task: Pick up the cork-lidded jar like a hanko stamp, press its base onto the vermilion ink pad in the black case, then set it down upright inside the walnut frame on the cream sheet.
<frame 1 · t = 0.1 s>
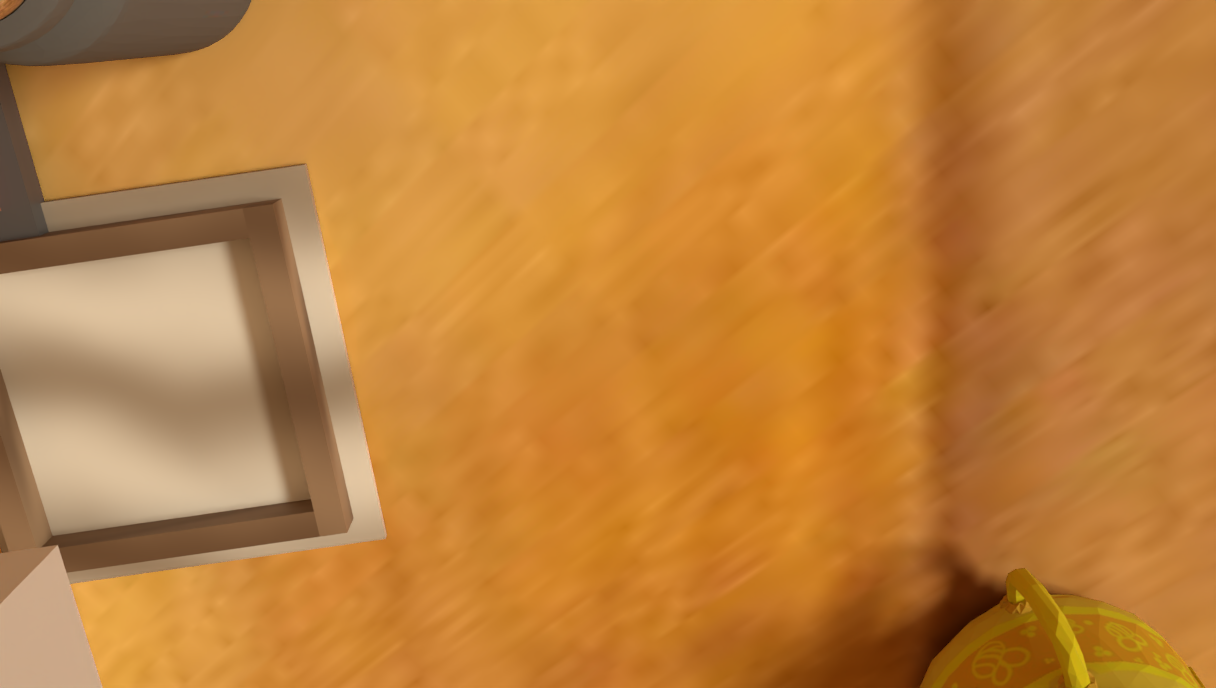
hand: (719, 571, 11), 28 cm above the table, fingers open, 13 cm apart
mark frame: (155, 386, 39), on the table
mug: (1026, 671, 44), on the table
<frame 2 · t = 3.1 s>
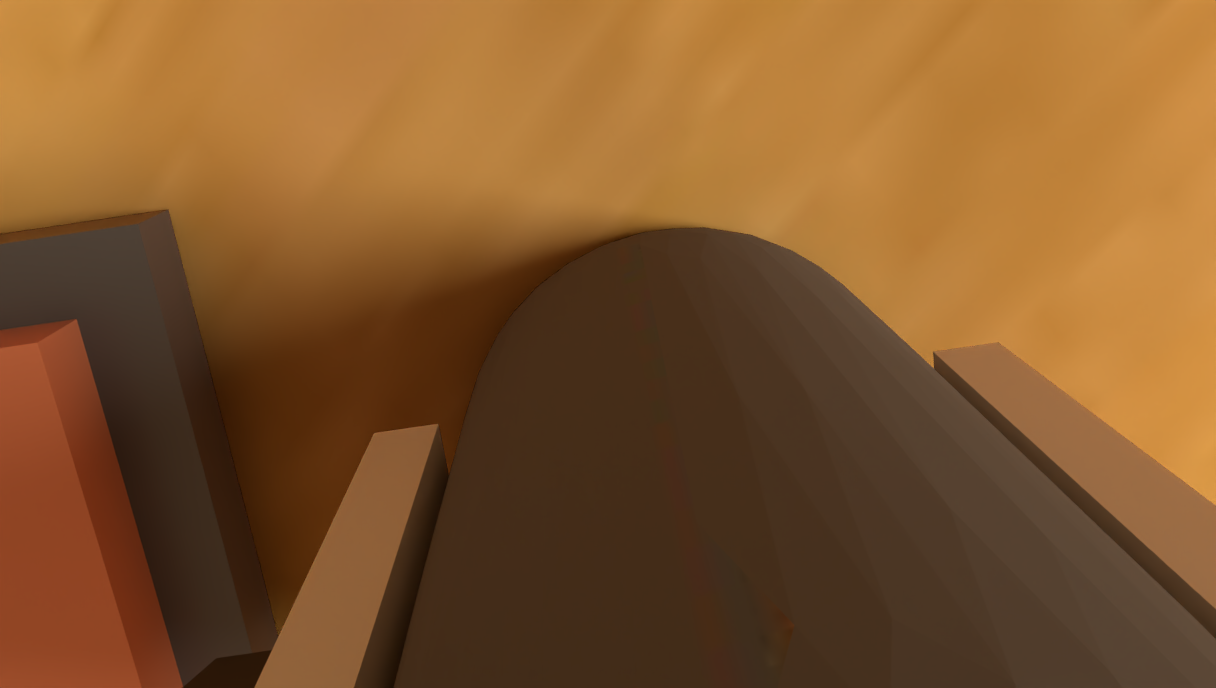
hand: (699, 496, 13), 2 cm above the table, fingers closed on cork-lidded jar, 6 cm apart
cork-lidded jar: (683, 432, 15), on the table, touching gripper
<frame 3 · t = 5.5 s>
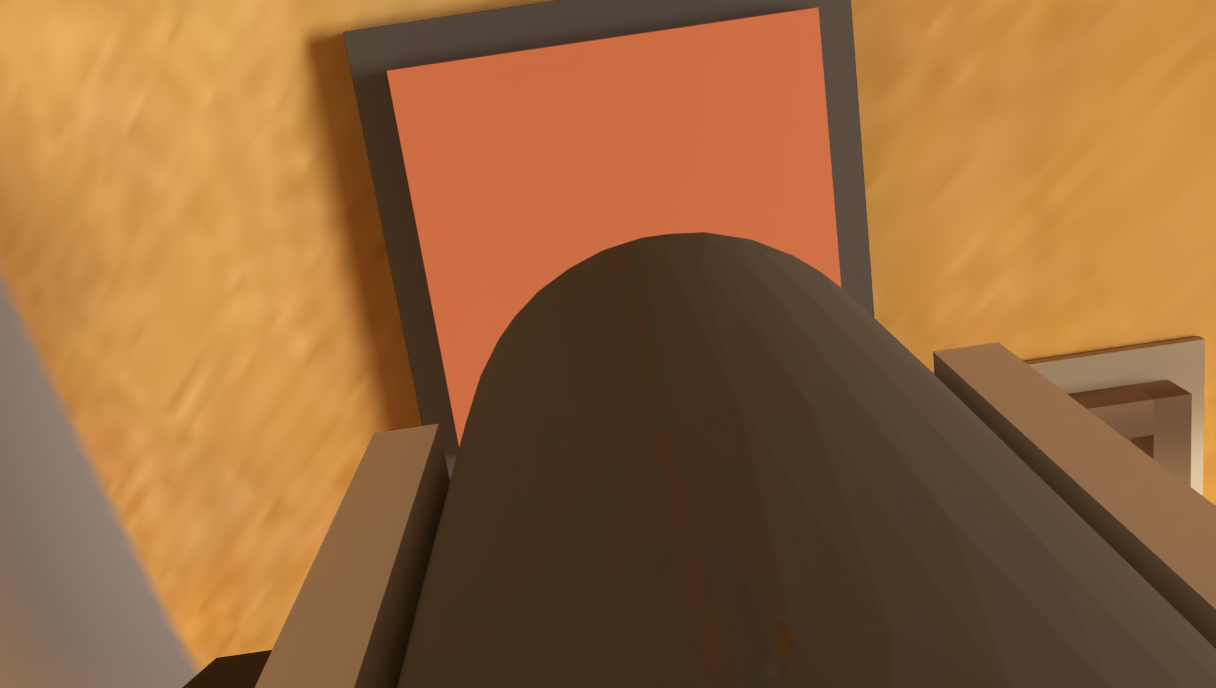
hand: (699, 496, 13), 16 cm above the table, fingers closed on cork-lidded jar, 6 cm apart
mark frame: (955, 600, 32), on the table
ink pad: (627, 235, 29), on the table
cork-lidded jar: (684, 436, 15), point 14 cm above the table, touching gripper
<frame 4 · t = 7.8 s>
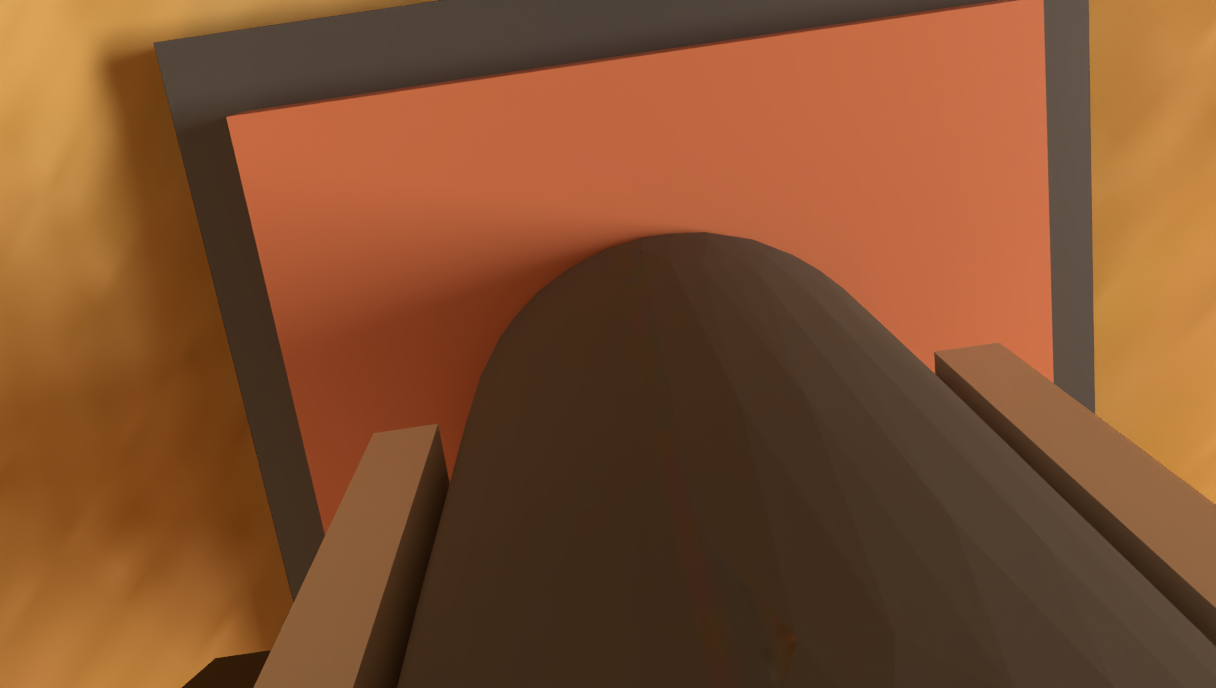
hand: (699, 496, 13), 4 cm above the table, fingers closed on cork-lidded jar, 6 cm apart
ink pad: (670, 390, 17), on the table
cork-lidded jar: (685, 436, 15), point 2 cm above the table, touching gripper, ink pad
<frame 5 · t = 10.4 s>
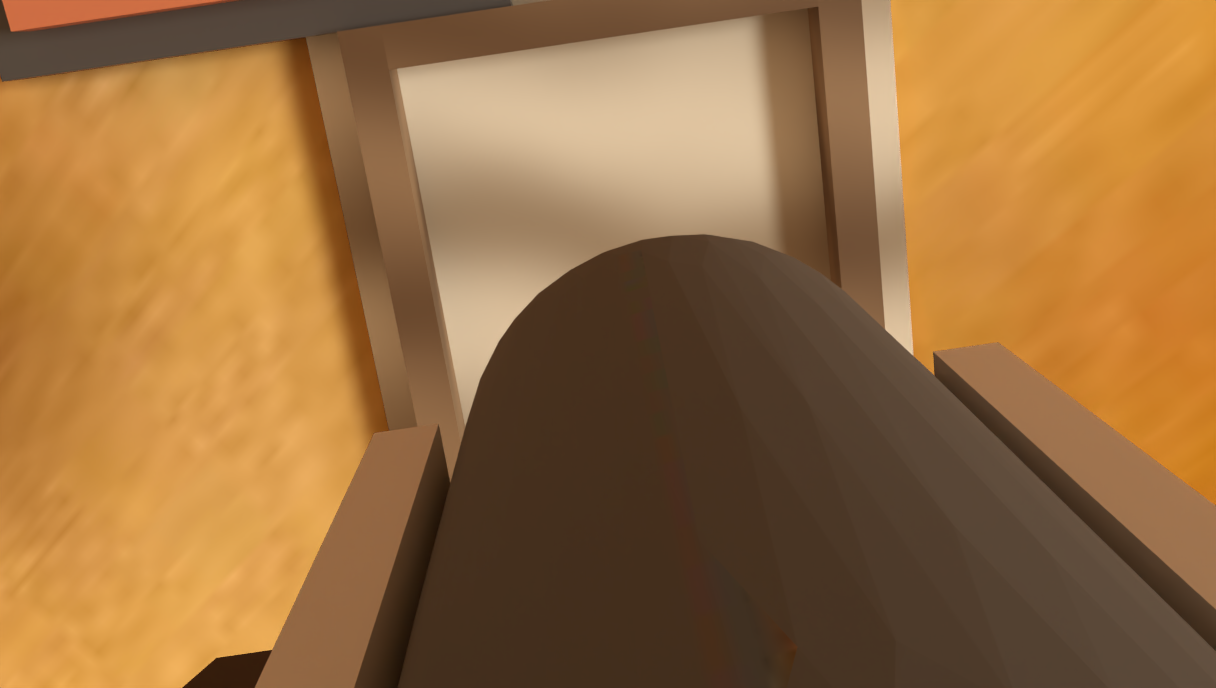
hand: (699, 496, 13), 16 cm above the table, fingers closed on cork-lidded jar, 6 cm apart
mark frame: (629, 237, 28), on the table
cork-lidded jar: (685, 438, 15), point 14 cm above the table, touching gripper
when the fingers open (4 cm above the table, at t = 12.8 s): cork-lidded jar drops 2 cm, resting on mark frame.
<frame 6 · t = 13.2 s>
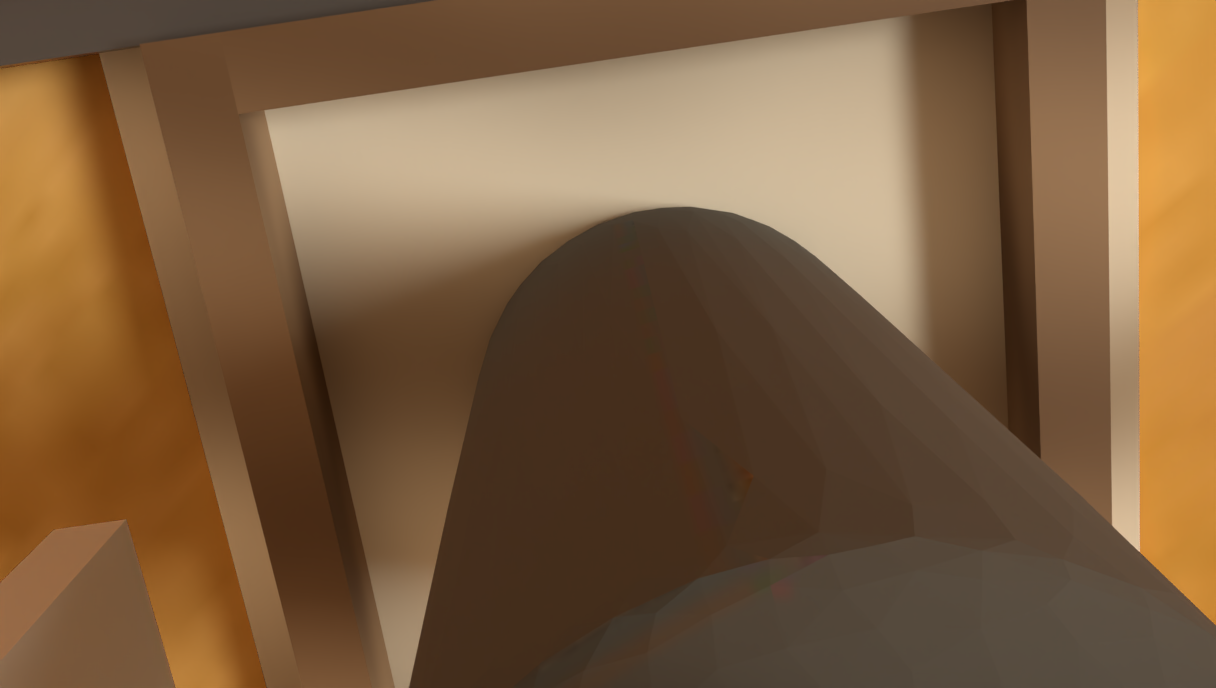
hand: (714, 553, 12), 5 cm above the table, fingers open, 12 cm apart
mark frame: (670, 390, 17), on the table
cork-lidded jar: (674, 393, 17), resting on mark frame
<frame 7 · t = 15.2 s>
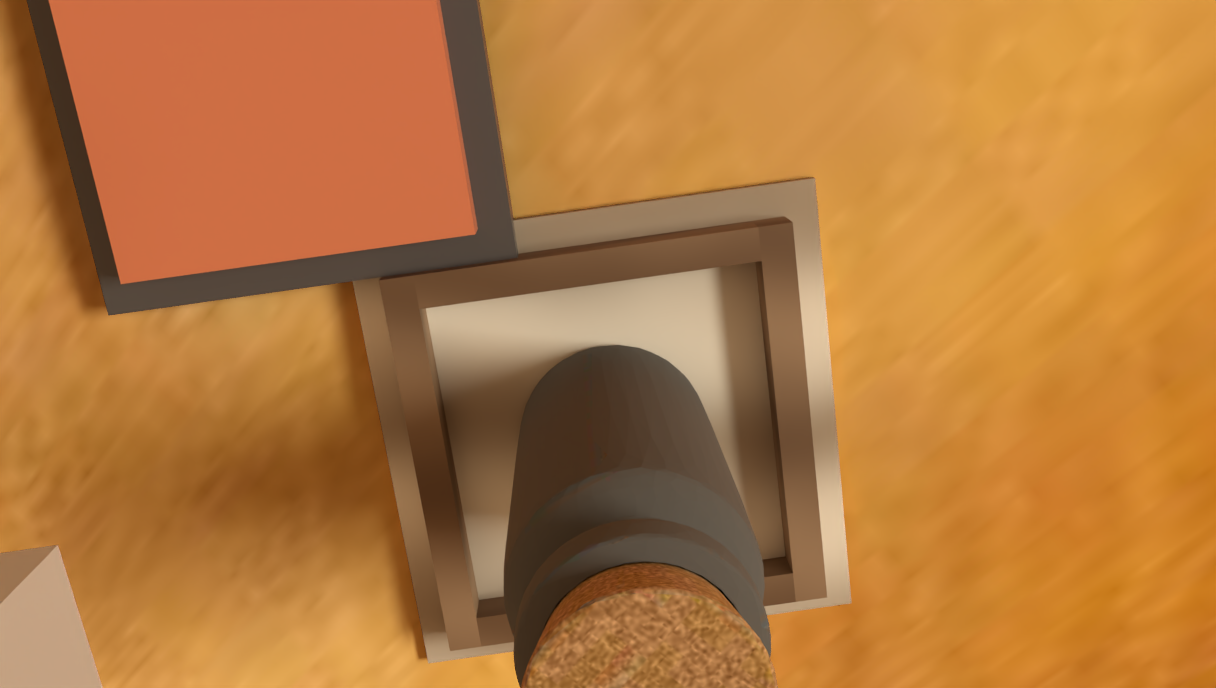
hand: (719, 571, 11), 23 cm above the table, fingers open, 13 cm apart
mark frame: (611, 430, 35), on the table
ink pad: (278, 75, 32), on the table
cork-lidded jar: (613, 430, 35), resting on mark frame
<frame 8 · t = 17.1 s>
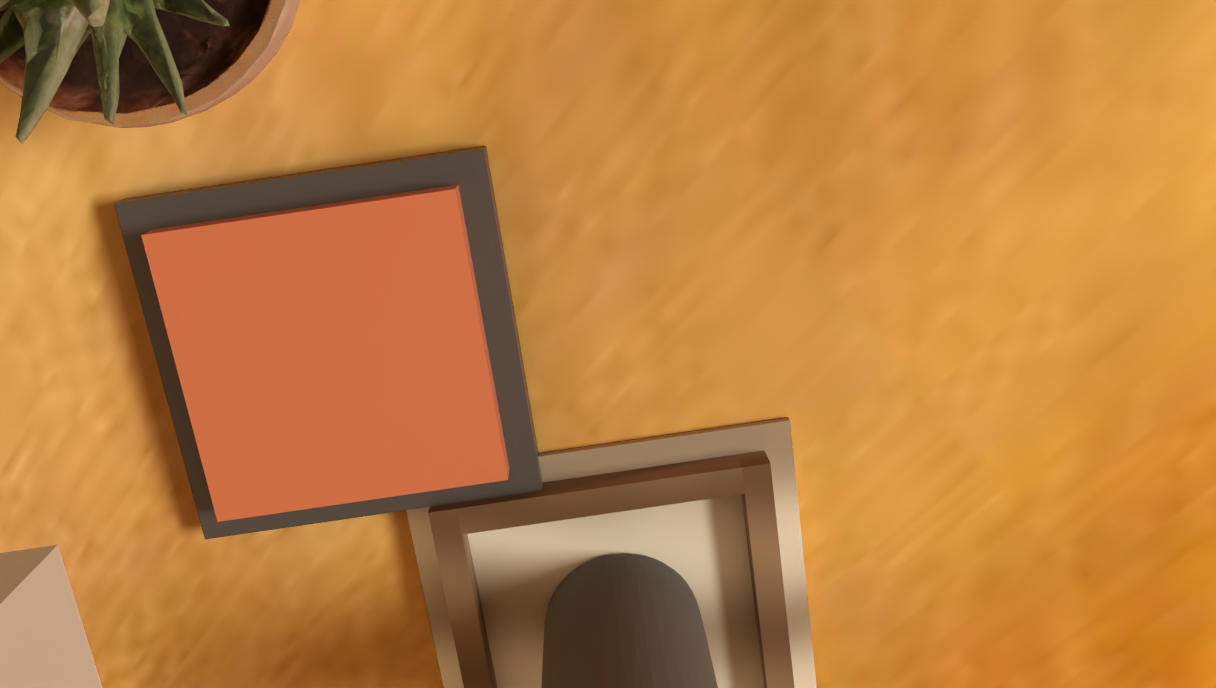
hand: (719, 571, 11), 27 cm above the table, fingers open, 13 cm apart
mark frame: (620, 617, 41), on the table
ink pad: (343, 344, 38), on the table
cork-lidded jar: (622, 618, 41), resting on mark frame
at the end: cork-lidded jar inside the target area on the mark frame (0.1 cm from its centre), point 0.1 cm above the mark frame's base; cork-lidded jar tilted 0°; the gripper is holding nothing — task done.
